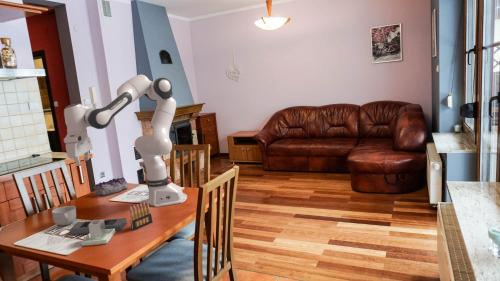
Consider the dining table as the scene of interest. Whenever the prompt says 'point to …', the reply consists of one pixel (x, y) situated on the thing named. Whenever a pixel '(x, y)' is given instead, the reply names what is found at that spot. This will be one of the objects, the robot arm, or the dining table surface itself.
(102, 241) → the tray
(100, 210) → the dining table surface
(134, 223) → the ammunition clip
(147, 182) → the robot arm
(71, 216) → the teacup
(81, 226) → the rail
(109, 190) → the geode
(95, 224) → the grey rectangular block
